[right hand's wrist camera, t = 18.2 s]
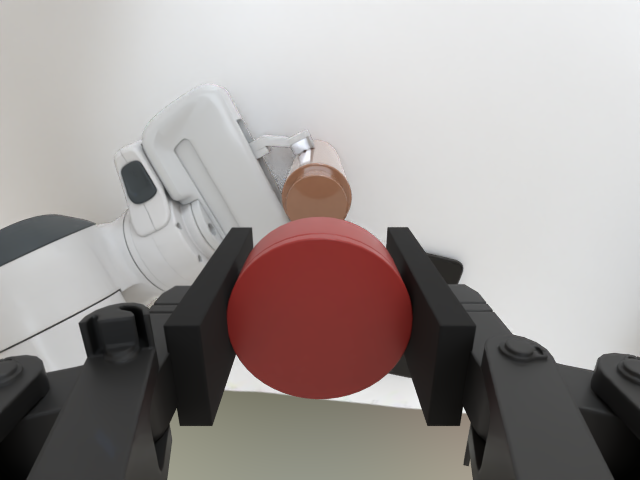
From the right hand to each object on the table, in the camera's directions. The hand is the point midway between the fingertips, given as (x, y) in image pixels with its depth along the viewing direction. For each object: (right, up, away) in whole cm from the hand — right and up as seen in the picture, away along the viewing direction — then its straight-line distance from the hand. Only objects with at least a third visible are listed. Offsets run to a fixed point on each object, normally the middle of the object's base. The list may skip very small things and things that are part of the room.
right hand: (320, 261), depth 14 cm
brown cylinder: (0, +9, +24) cm, 25 cm away
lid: (0, -1, -4) cm, 4 cm away
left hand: (0, +7, +18) cm, 19 cm away
